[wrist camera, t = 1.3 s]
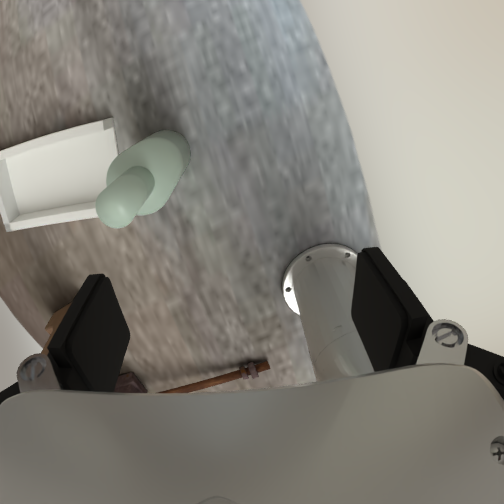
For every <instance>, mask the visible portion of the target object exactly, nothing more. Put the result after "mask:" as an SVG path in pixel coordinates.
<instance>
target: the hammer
mask: <svg viewBox="0 0 504 504" xmlns="http://www.w3.org/2000/svg"><path fill="white" fill-rule="evenodd" d="M239 369H240V370H237V371H234V372H231V373H227V374H224V375H221V376H217V377H214V378H210V379H207V380H203V381H200V382H196V383H192V384H189V385H185V386H181V387H178V388H174V389H170V390H166V391H162V392H158V393H189V392H193V391H197V390H200V389H204V388H208V387H211V386H215V385H218V384H222V383H225V382H228V381H232V380H235V379H239V378H242V377H243V379H249V377H248V375H251V376H252V378H253V379H254V378H256V377H259V376H258V372H262V371H265V370H268V369H270V366H269V364H268V362H267V361H266V362H263V363H259V364H256V365H254V363H253V362H250V363H248V367H247V368H245V367H244V366H242V367H239ZM114 393H147V390H146V389H145V388H144V386H143V385H142V384H141V383H140V381H139V380H138V379H137V377H136V376H135V375H134V373H133V372H132V373H128V374H124V375H121V376H118V379H117V383H116V386H115V390H114Z"/></svg>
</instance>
